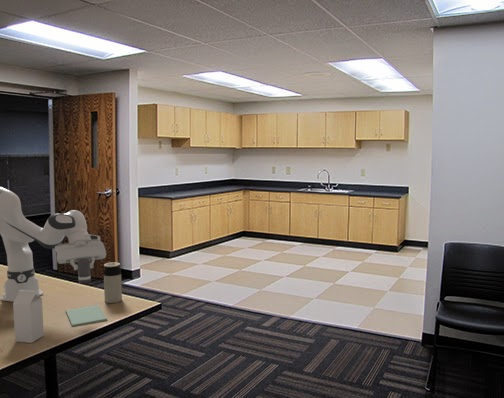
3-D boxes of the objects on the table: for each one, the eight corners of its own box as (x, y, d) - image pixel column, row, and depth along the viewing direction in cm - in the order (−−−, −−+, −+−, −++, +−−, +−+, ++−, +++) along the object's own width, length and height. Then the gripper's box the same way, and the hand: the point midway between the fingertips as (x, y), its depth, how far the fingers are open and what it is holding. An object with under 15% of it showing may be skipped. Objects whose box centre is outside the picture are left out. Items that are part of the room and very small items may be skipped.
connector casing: (77, 281, 199) (76, 257, 198) (89, 279, 202) (88, 256, 200) (79, 284, 195) (78, 260, 194) (91, 282, 197) (90, 258, 196)
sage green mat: (65, 311, 206) (65, 310, 205) (98, 306, 212) (98, 304, 212) (72, 326, 188) (72, 324, 188) (107, 320, 195) (107, 318, 195)
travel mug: (104, 304, 216) (102, 266, 214) (105, 299, 223) (103, 262, 221) (122, 302, 218) (120, 265, 216) (122, 297, 225) (120, 261, 223)
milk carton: (32, 343, 172) (29, 294, 170) (15, 342, 173) (12, 293, 171) (44, 335, 179) (41, 288, 177) (27, 334, 180) (24, 287, 178)
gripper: (54, 240, 198) (58, 267, 190) (103, 235, 208) (108, 261, 200) (54, 248, 202) (57, 275, 195) (101, 243, 212) (107, 269, 204)
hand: (84, 268), depth 197 cm, fingers closed on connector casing, 5 cm apart
